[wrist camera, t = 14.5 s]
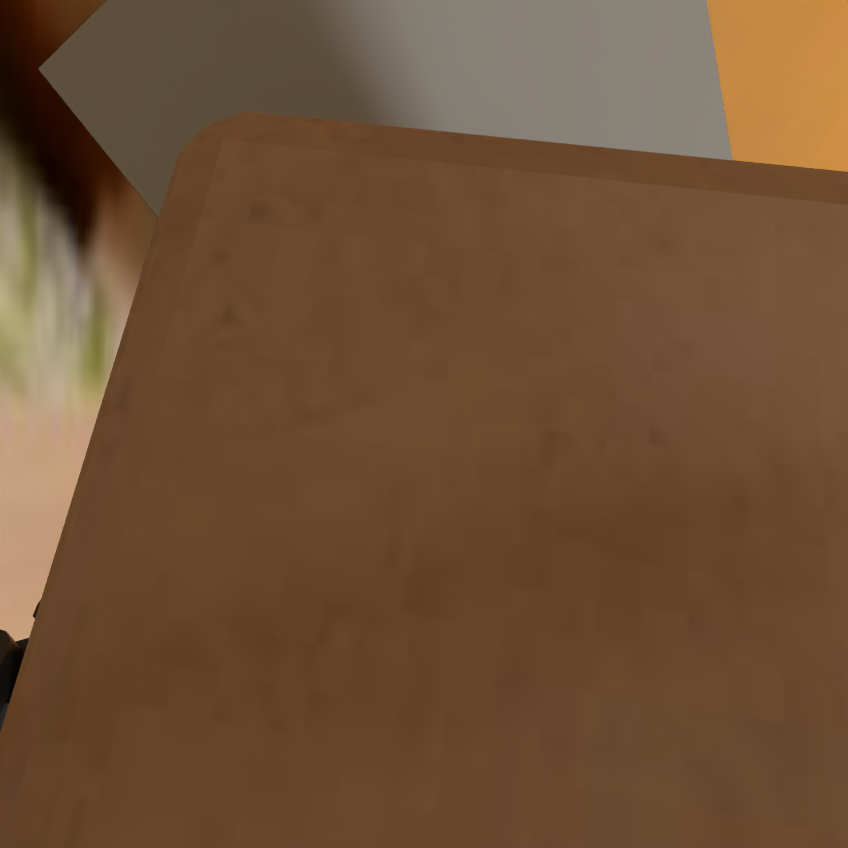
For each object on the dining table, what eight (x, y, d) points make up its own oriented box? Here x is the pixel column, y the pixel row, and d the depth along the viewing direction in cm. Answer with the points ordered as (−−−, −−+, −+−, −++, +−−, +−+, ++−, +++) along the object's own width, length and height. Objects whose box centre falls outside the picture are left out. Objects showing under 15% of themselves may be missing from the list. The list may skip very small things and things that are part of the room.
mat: (49, 70, 17) (38, 68, 17) (613, -483, 11) (622, -514, 11) (397, 507, 29) (396, 514, 29) (758, 360, 23) (766, 364, 23)
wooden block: (377, 421, 25) (162, 61, 5) (557, 446, 24) (1053, 146, 5) (345, 609, 23) (-201, 1147, 3) (540, 641, 22) (1295, 1525, 3)
